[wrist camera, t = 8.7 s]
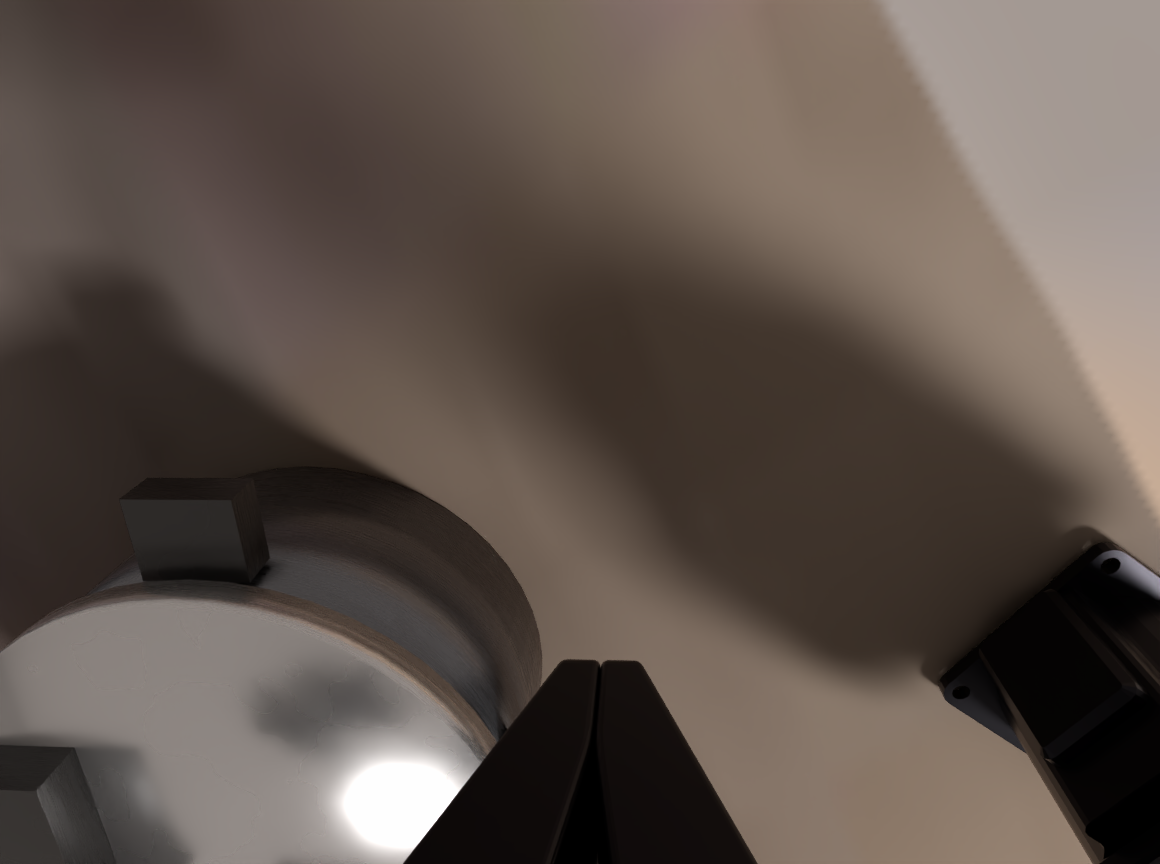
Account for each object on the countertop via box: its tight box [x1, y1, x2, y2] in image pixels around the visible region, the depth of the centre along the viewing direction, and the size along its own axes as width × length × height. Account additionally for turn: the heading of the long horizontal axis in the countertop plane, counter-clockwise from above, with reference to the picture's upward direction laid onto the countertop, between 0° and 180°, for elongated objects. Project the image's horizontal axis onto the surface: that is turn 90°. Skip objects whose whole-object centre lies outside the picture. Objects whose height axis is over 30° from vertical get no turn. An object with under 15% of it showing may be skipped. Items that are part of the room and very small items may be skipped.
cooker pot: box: [86, 467, 542, 742], centre depth 22 cm, size 14×17×6 cm
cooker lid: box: [0, 579, 497, 864], centre depth 18 cm, size 14×14×2 cm
